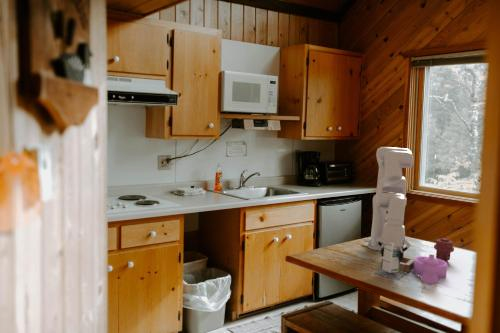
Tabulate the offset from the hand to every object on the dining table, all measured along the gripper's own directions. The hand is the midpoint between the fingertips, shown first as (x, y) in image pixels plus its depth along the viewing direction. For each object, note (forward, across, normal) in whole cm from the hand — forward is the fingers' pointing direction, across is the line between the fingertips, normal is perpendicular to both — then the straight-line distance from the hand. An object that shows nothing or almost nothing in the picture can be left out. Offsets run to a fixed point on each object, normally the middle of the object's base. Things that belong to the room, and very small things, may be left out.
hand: (391, 257), depth 234 cm
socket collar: (+8, 0, +14) cm, 16 cm away
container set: (+8, +16, +9) cm, 20 cm away
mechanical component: (+8, +16, +41) cm, 45 cm away
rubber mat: (+8, 0, 0) cm, 8 cm away
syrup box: (+7, 0, 0) cm, 7 cm away
